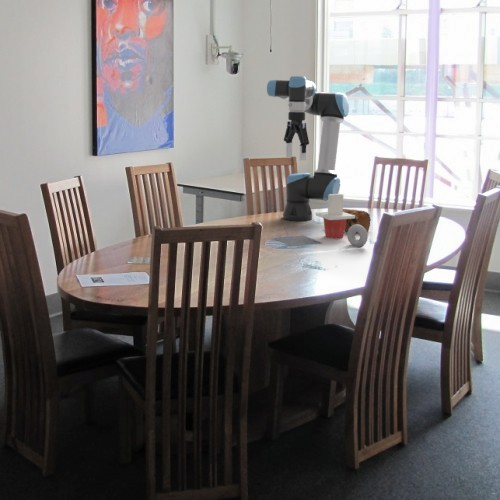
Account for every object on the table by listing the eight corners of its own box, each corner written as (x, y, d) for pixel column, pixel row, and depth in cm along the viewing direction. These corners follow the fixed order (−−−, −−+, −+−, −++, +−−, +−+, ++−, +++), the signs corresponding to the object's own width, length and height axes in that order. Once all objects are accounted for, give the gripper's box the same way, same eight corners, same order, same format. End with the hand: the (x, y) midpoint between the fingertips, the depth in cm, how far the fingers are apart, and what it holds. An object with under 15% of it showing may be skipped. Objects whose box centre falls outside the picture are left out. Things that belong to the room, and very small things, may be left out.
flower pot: (346, 235, 371) (346, 215, 369) (346, 240, 361) (347, 219, 358) (322, 235, 372) (323, 214, 370) (322, 239, 362) (323, 218, 359)
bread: (370, 231, 383) (371, 210, 381) (354, 234, 376) (355, 213, 374) (342, 225, 397) (343, 205, 395) (326, 227, 390) (327, 207, 388)
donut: (345, 246, 349) (345, 223, 347) (349, 244, 352) (350, 222, 350) (364, 249, 343) (365, 226, 341) (368, 248, 345) (369, 225, 343)
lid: (315, 215, 367) (316, 193, 365) (340, 213, 373) (341, 191, 371) (329, 220, 356) (330, 197, 354) (355, 218, 361) (356, 195, 359)
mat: (272, 239, 361) (272, 237, 361) (303, 236, 368) (303, 235, 368) (290, 247, 345) (290, 245, 345) (323, 244, 352) (323, 243, 352)
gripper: (277, 110, 372) (276, 156, 377) (302, 112, 350) (301, 161, 354) (291, 110, 375) (290, 155, 380) (317, 112, 353) (316, 161, 357)
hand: (295, 158), depth 367 cm, fingers open, 13 cm apart
